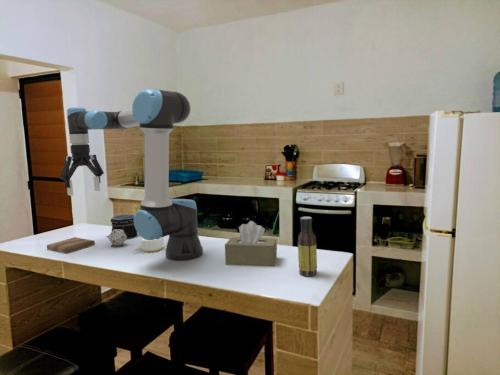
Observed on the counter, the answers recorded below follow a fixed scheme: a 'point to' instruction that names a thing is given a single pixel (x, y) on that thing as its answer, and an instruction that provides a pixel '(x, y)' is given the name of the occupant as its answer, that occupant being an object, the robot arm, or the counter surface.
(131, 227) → the container
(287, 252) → the counter surface
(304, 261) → the sauce bottle
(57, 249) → the board
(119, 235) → the game die
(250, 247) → the tissue box
